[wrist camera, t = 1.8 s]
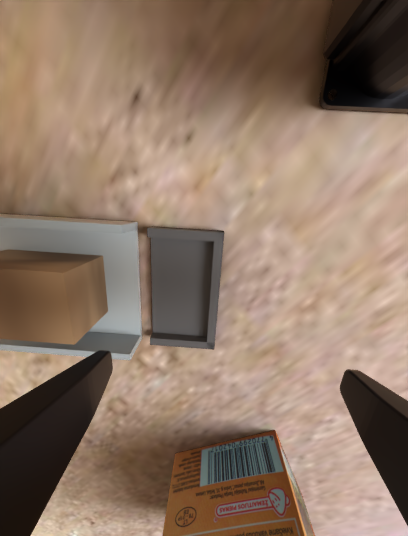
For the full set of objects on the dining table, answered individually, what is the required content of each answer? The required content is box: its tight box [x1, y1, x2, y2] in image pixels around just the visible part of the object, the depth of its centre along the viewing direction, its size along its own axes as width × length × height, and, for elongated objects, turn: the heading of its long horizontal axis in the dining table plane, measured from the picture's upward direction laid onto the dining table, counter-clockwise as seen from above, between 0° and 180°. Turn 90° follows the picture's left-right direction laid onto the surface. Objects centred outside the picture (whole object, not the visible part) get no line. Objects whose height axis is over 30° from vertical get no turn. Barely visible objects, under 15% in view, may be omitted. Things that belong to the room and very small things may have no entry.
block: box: [0, 249, 108, 345], centre depth 13 cm, size 7×4×4 cm, turn 87°
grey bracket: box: [0, 214, 142, 360], centre depth 14 cm, size 11×10×2 cm
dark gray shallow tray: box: [147, 227, 224, 349], centre depth 15 cm, size 5×9×1 cm, turn 177°
